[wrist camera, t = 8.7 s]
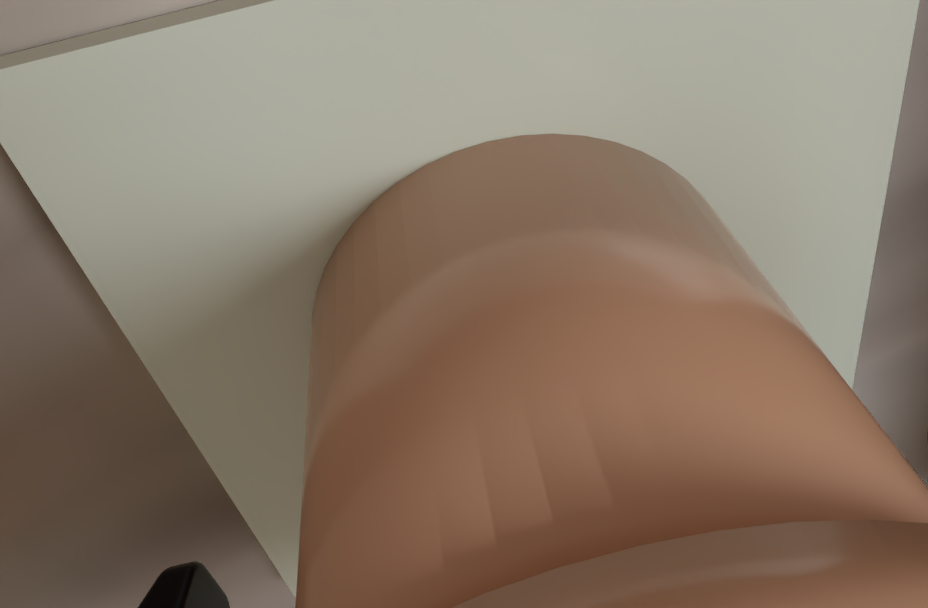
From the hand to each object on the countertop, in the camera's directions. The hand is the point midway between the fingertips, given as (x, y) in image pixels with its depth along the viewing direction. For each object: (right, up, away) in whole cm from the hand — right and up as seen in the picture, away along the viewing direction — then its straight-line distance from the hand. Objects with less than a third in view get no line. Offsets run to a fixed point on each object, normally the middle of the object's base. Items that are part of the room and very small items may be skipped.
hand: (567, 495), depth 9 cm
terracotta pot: (0, +2, +2) cm, 3 cm away
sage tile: (0, +2, +3) cm, 4 cm away
